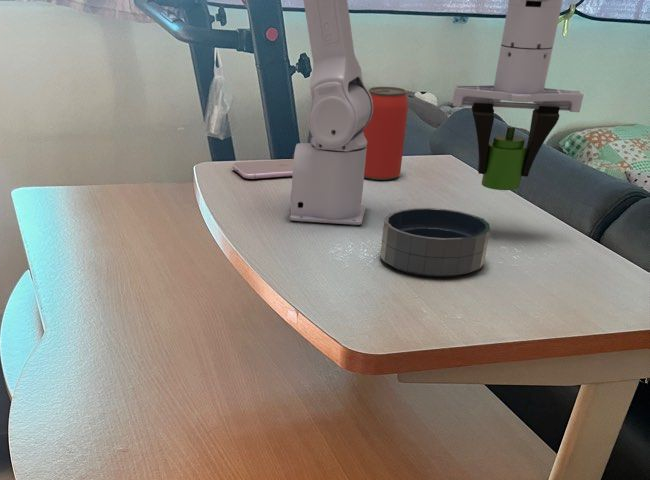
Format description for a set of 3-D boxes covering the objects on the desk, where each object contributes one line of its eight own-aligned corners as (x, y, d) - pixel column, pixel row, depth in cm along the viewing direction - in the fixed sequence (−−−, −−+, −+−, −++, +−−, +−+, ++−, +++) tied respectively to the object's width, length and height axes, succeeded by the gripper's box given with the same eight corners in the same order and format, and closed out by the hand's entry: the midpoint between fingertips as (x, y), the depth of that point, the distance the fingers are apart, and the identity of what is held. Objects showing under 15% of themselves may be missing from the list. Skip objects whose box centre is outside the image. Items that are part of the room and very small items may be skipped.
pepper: (482, 189, 102) (493, 130, 98) (480, 179, 105) (490, 122, 101) (520, 191, 101) (533, 132, 97) (517, 181, 105) (529, 124, 101)
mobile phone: (230, 161, 131) (318, 155, 135) (230, 168, 132) (317, 162, 135) (245, 173, 125) (336, 167, 129) (245, 180, 126) (336, 173, 130)
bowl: (377, 275, 94) (382, 235, 91) (382, 242, 103) (386, 205, 101) (485, 283, 92) (493, 242, 90) (480, 249, 102) (487, 211, 99)
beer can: (358, 169, 133) (365, 85, 125) (399, 171, 132) (409, 86, 125) (356, 180, 127) (364, 92, 120) (400, 182, 127) (410, 94, 119)
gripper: (463, 47, 92) (443, 177, 100) (598, 53, 90) (567, 185, 98) (460, 40, 97) (442, 163, 106) (588, 45, 96) (559, 170, 104)
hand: (502, 173), depth 102 cm, fingers closed on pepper, 4 cm apart
